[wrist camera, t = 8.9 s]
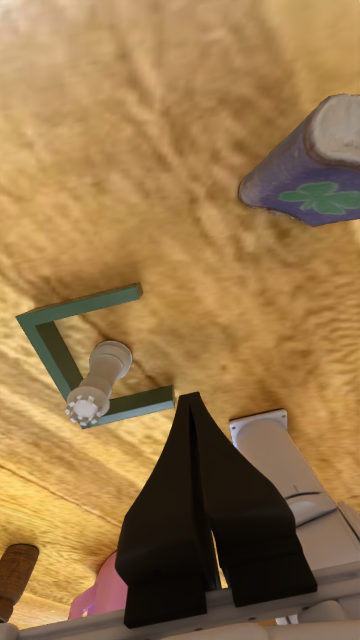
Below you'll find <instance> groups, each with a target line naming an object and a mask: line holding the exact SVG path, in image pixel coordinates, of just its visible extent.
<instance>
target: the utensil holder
mask: <svg viewBox="0 0 360 640" xmlns="http://www.w3.org/2000/svg"><path fill="white" fill-rule="evenodd" d="M38 555H39V552H38V550H37V549H36V548H35V547H33V546H30V545H25V544H18V545H13V546H11V547H9V548H8V549H7V550H6V551H5V553H4V554H3V556H2V557H1V559H0V623H7V622H8V620H9V618H10V616H11V615H12V612H13V606H14V605H15V604H16V603H17V602H18V601H19V599H20V598H21V596H22V594H23V592H24V590H25V587H26V585H27V583H28V580H29V578H30V576H31V573H32V571H33V569H34V566H35V564H36V561H37V559H38Z"/></svg>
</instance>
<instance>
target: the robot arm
mask: <svg viewBox="0 0 360 640" xmlns="http://www.w3.org/2000/svg"><path fill="white" fill-rule="evenodd" d="M229 426H230V431H231V436H232V442H233V444H232V443H231V442H230V441H229V439H228V438H227V437H226V436H225V435H224V433H223V432H222V431H221V429H220V428H219V427H218V425H217V424H216V423H215V421H214V420H213V418H212V417H211V415H210V413H209V412H208V410H207V409H206V407H205V405H204V403H203V401H202V399H201V396H200V393H199V392H198V391H197V392H193V393H189V394H185V395H180V396H179V400H178V405H177V410H176V414H175V417H174V421H173V424H172V427H171V430H170V433H169V436H168V439H167V441H166V444H165V446H164V449H163V451H162V453H161V455H160V458H159V460H158V462H157V464H156V466H155V468H154V470H153V472H152V473H151V475H150V477H149V479H148V480H147V482H146V484H145V486H144V487H143V489H142V491H141V492H140V494H139V496H138V497H137V499H136V500H135V502H134V503H133V505H132V506H131V508H130V509H129V511H128V512H127V514H126V515H125V518H124V522H123V525H122V529H121V533H120V537H119V542H118V547H117V553H116V559H115V570H116V572H117V574H118V575H119V576H120V578H121V579H122V580H123V581H124V582H125V584H126V585H127V586H128V589H127V598H126V606H125V609H120V610H115V611H110V612H105V613H100V614H96V615H91V616H86V617H81V618H76V619H71V620H66V621H61V622H56V623H51V624H46V625H42V626H37V627H32V628H27V629H22V630H19V628H18V627H17V626H15V625H14V624H11V623H0V640H360V515H359V514H358V512H357V511H356V510H355V508H354V507H353V506H351V505H348V504H346V503H345V502H344V501H340V502H338V503H337V504H338V506H339V507H340V508H339V507H338V506H337V504H336V503H335V502H334V500H333V499H332V498H331V496H330V495H329V494H328V493H327V491H326V490H325V488H324V487H323V485H322V484H321V482H320V481H319V479H318V478H317V476H316V475H315V473H314V472H313V470H312V469H311V467H310V466H309V464H308V463H307V461H306V460H305V458H304V457H303V455H302V454H301V452H300V451H299V449H298V448H297V446H296V445H295V443H294V441H293V440H292V438H291V437H290V435H289V434H288V429H287V412H286V411H285V410H284V409H281V410H276V411H272V412H268V413H263V414H259V415H255V416H250V417H246V418H241V419H237V420H233V421H230V422H229ZM340 509H341V510H342V511H341V510H340ZM343 513H344V514H343ZM211 530H212V531H211ZM212 532H213V535H214V538H215V542H216V548H217V554H218V560H219V566H220V568H222V571H223V574H224V577H225V579H226V582H227V585H228V588H223V589H222V587H221V581H220V576H219V570H218V565H217V559H216V554H215V548H214V542H213V537H212ZM272 619H275V620H276V622H277V624H278V625H273V626H260V625H259V624H254V623H256V622H261V621H266V620H272Z"/></svg>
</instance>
